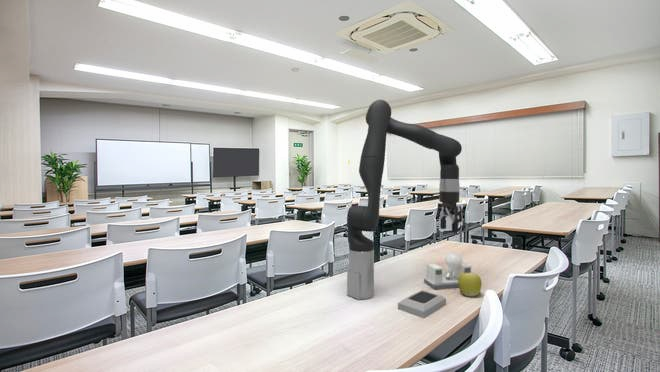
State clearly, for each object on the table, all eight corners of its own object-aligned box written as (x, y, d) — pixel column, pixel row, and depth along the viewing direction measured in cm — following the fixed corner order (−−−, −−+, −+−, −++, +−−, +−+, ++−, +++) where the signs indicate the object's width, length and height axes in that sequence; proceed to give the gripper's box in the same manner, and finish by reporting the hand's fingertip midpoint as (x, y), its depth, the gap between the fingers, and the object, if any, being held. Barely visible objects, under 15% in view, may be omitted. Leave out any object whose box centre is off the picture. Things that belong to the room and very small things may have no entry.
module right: (463, 281, 127) (463, 266, 127) (454, 276, 134) (454, 262, 133) (471, 281, 128) (471, 266, 127) (461, 275, 134) (461, 261, 134)
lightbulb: (442, 274, 134) (450, 249, 134) (457, 281, 131) (466, 255, 130) (437, 275, 129) (446, 249, 129) (453, 282, 125) (462, 255, 125)
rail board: (434, 289, 124) (434, 284, 124) (424, 282, 132) (424, 277, 132) (473, 286, 127) (473, 281, 127) (461, 279, 135) (461, 274, 135)
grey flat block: (397, 299, 107) (421, 287, 117) (397, 310, 107) (421, 297, 118) (423, 308, 100) (446, 295, 111) (423, 319, 100) (445, 305, 111)
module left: (434, 284, 125) (434, 268, 124) (426, 278, 131) (426, 263, 131) (442, 283, 125) (443, 268, 125) (434, 277, 132) (434, 263, 132)
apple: (483, 298, 113) (474, 270, 114) (460, 300, 117) (452, 273, 119) (486, 291, 120) (478, 264, 121) (464, 293, 124) (456, 267, 125)
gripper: (468, 191, 122) (467, 233, 122) (448, 189, 136) (447, 227, 136) (450, 191, 120) (449, 234, 121) (431, 189, 134) (431, 227, 135)
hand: (448, 230), depth 129 cm, fingers open, 8 cm apart
